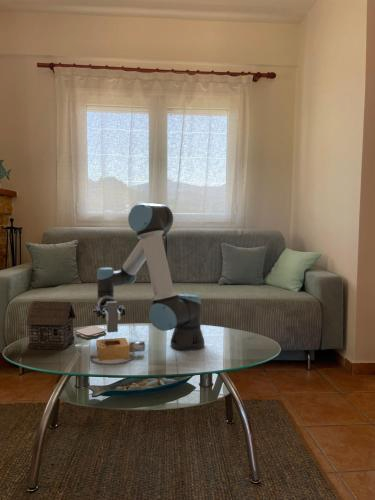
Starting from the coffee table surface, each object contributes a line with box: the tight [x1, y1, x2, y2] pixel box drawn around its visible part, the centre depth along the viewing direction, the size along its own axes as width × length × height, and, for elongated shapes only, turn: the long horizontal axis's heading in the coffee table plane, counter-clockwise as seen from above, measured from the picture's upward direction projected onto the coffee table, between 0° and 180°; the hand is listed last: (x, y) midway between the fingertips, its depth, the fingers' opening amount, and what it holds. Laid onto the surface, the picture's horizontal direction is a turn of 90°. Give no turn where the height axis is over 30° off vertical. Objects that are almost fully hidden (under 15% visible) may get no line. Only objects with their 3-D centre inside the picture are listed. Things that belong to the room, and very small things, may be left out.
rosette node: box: [89, 337, 146, 366], centre depth 173 cm, size 22×18×6 cm
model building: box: [25, 300, 77, 350], centre depth 188 cm, size 18×14×20 cm
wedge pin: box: [106, 300, 119, 333], centre depth 172 cm, size 4×4×12 cm
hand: (113, 316), depth 166 cm, fingers closed on wedge pin, 4 cm apart
